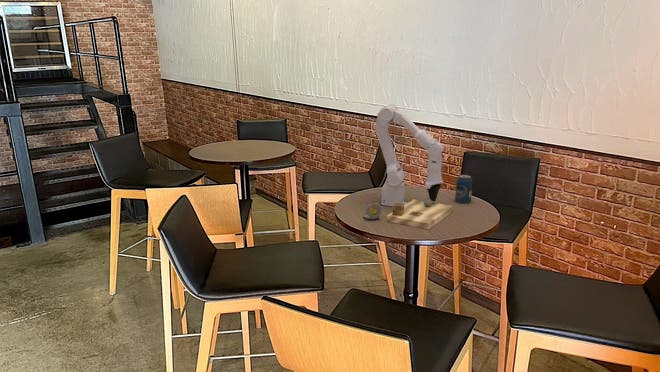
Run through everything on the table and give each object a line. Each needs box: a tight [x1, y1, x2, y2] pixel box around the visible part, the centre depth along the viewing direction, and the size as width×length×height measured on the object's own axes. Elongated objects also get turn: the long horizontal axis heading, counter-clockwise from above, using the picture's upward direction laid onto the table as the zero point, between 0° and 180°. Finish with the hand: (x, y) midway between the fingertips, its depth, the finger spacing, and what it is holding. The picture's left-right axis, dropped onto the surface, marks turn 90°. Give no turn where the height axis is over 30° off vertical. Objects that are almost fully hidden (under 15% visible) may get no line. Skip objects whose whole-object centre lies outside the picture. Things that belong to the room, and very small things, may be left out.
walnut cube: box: [391, 203, 404, 216], centre depth 204 cm, size 4×4×4 cm
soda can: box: [454, 174, 473, 205], centre depth 226 cm, size 7×7×12 cm
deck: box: [386, 198, 454, 231], centre depth 209 cm, size 18×26×2 cm
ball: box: [423, 197, 433, 206], centre depth 213 cm, size 4×4×4 cm
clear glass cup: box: [363, 196, 383, 220], centre depth 206 cm, size 8×8×10 cm
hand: (432, 200), depth 218 cm, fingers closed
